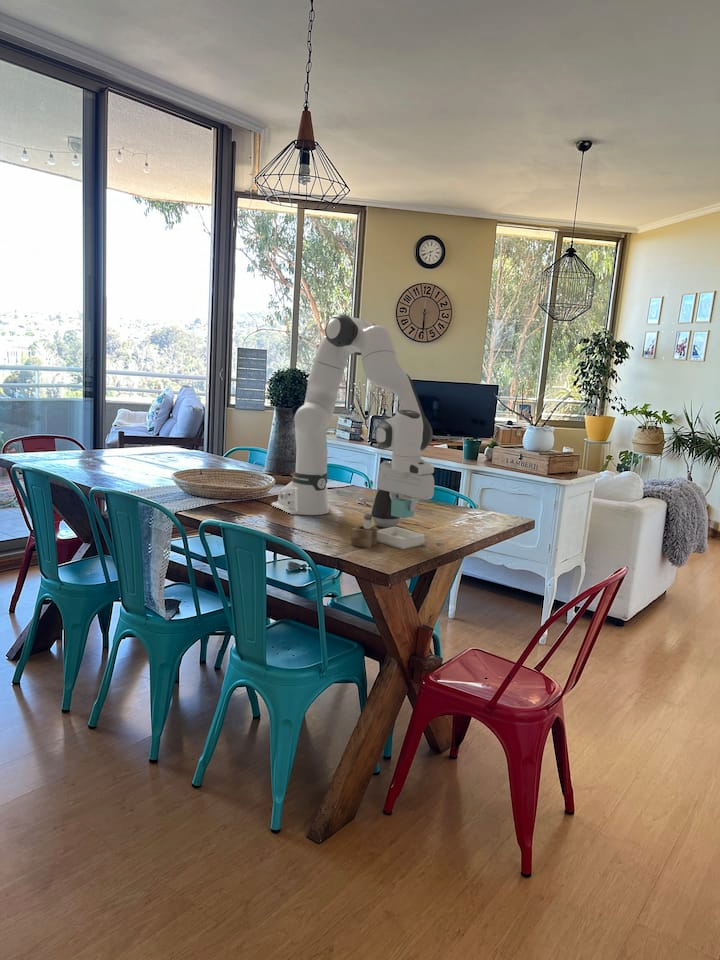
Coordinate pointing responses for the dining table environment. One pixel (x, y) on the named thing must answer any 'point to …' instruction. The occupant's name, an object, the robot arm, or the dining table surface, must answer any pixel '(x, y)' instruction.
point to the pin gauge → (367, 521)
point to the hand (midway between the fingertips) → (403, 508)
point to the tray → (400, 537)
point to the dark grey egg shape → (383, 510)
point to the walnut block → (364, 536)
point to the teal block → (401, 508)
